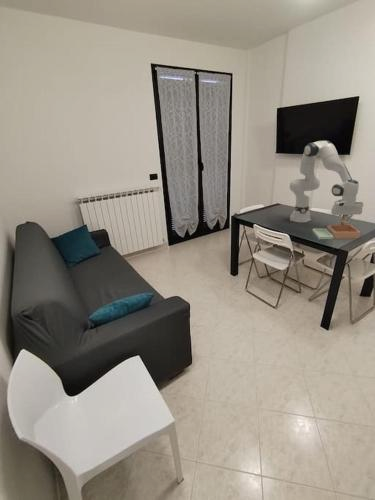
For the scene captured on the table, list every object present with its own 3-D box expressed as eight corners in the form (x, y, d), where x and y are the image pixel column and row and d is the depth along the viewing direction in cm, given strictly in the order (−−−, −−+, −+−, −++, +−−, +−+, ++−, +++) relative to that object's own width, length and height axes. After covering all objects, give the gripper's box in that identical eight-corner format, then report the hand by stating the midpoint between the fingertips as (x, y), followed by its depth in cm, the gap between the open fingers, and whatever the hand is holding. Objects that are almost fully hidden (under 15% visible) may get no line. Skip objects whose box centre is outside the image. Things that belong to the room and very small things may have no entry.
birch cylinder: (339, 224, 191) (341, 214, 188) (345, 224, 191) (347, 214, 187) (341, 225, 188) (343, 216, 184) (347, 225, 187) (349, 215, 184)
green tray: (312, 232, 204) (312, 228, 203) (325, 231, 202) (325, 228, 201) (318, 240, 188) (319, 236, 187) (333, 240, 186) (333, 236, 185)
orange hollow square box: (326, 231, 202) (327, 225, 199) (349, 231, 198) (350, 224, 196) (334, 239, 187) (335, 232, 184) (358, 239, 183) (360, 232, 181)
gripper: (361, 200, 182) (357, 218, 188) (332, 201, 186) (329, 218, 192) (365, 202, 177) (361, 220, 183) (335, 204, 181) (332, 221, 187)
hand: (344, 219), depth 187 cm, fingers closed on birch cylinder, 4 cm apart
